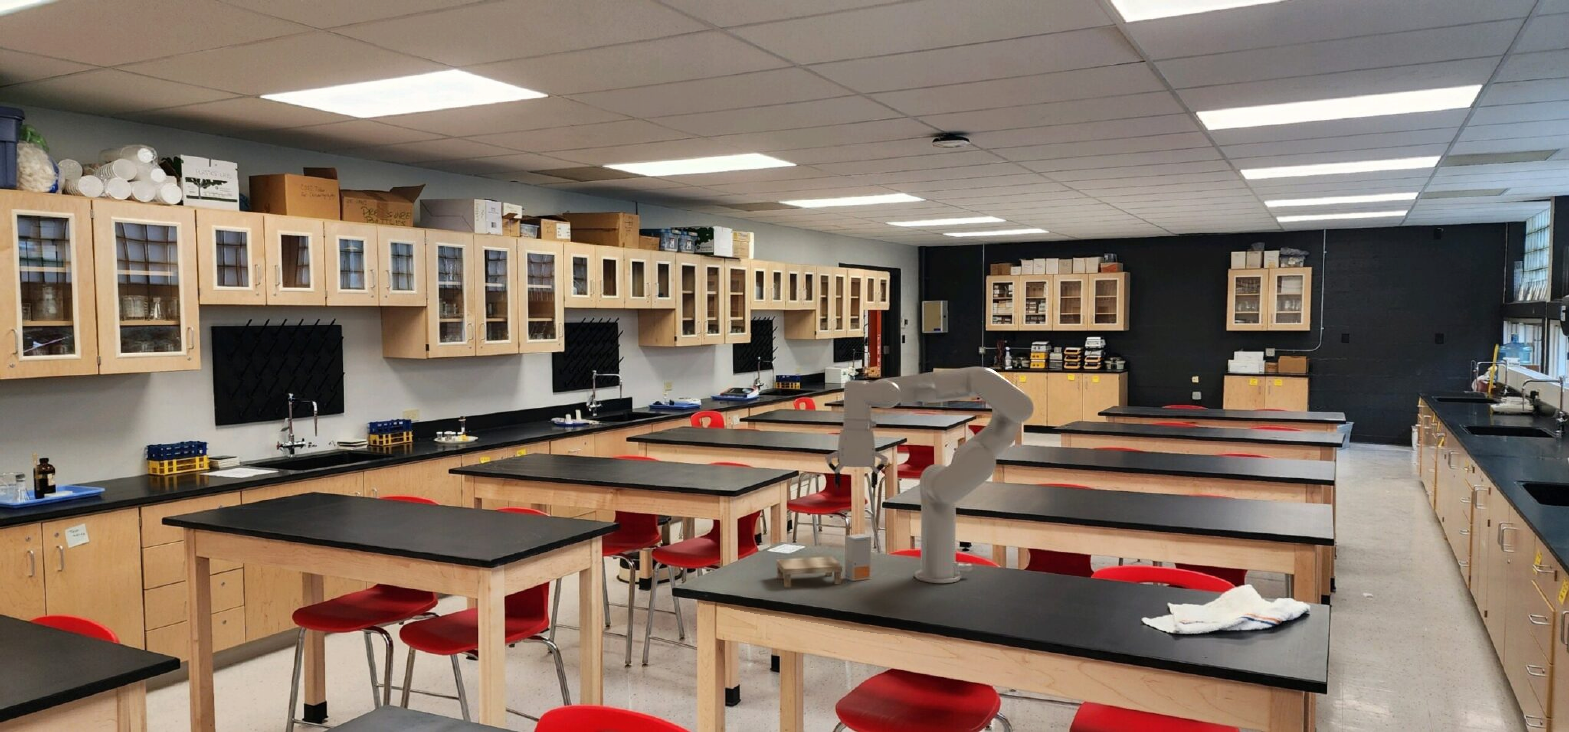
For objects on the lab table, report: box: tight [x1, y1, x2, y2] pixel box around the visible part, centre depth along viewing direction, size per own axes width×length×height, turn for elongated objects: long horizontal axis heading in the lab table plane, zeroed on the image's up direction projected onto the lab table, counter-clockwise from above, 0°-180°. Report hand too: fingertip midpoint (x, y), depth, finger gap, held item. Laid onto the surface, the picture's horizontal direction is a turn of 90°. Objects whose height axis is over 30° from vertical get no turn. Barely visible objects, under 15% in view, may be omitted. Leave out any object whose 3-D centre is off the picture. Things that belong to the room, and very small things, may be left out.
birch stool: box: [775, 556, 843, 588], centre depth 260 cm, size 16×11×5 cm
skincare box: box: [844, 533, 872, 582], centre depth 262 cm, size 6×4×12 cm
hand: (855, 487), depth 260 cm, fingers open, 9 cm apart
